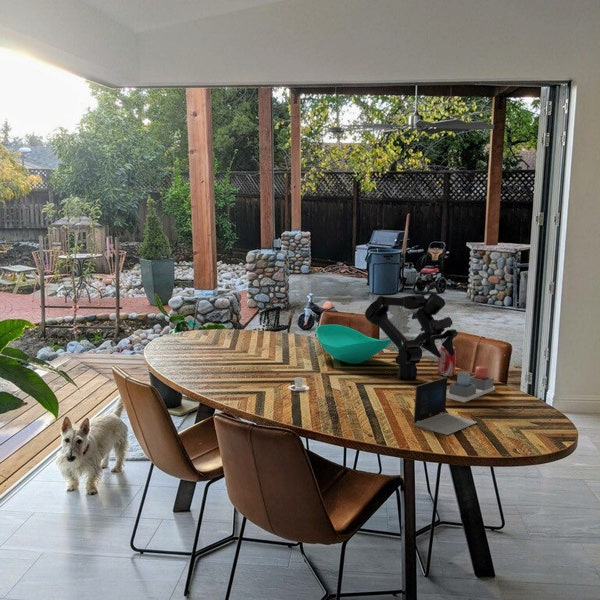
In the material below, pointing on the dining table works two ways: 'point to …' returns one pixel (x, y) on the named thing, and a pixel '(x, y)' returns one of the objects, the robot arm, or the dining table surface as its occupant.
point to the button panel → (470, 389)
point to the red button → (481, 372)
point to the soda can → (446, 362)
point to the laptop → (436, 409)
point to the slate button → (463, 379)
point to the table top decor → (348, 343)
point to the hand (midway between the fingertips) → (446, 356)
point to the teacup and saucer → (298, 385)
